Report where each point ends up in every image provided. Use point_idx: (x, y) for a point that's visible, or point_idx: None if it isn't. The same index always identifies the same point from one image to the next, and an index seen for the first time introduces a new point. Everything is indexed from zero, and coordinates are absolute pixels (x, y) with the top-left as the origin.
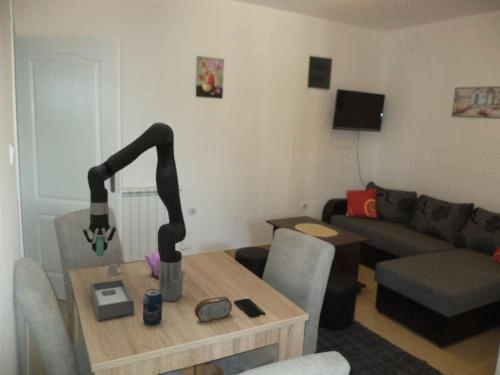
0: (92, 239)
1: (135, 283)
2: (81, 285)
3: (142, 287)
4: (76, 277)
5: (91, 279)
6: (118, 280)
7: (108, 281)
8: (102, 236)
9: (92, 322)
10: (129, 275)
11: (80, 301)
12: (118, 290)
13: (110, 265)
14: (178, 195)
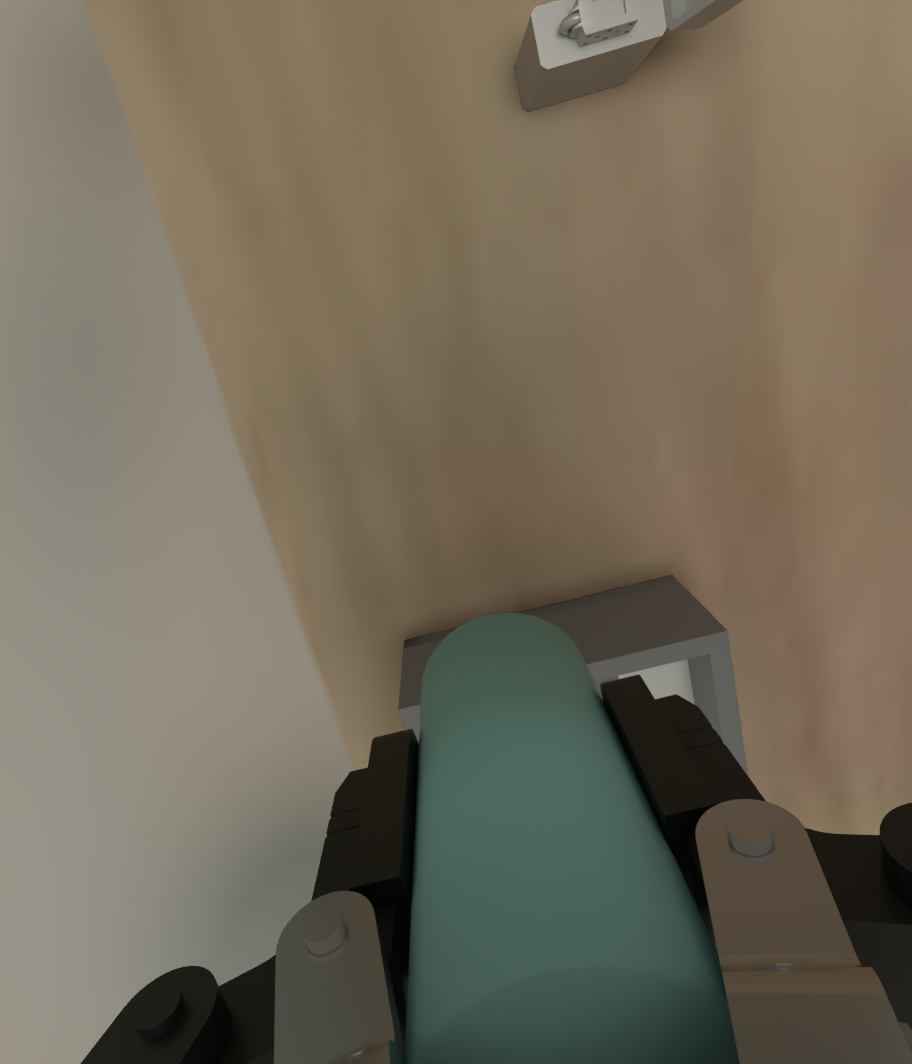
0: (307, 1030)
1: (812, 381)
2: (266, 365)
3: (864, 491)
4: (146, 98)
5: (340, 196)
6: (682, 657)
7: None
8: (704, 1026)
9: None
10: (775, 117)
11: (335, 707)
12: (655, 698)
13: (578, 26)
14: None
